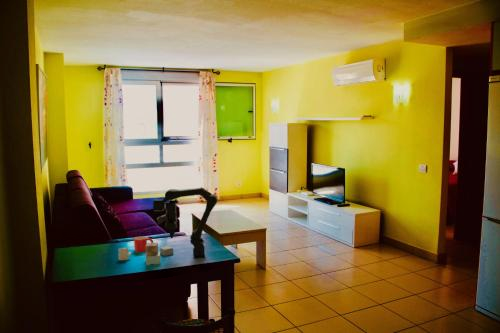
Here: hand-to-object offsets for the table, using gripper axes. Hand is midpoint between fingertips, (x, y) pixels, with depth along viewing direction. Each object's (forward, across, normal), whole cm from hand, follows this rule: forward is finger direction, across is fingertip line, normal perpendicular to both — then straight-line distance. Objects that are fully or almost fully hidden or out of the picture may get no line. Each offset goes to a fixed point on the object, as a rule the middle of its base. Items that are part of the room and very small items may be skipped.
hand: (172, 236), depth 234 cm
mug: (+13, -18, -19) cm, 29 cm away
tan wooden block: (+13, -7, -4) cm, 15 cm away
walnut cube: (+8, +7, -11) cm, 16 cm away
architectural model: (+14, -1, -29) cm, 32 cm away
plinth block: (+13, +7, -11) cm, 19 cm away
